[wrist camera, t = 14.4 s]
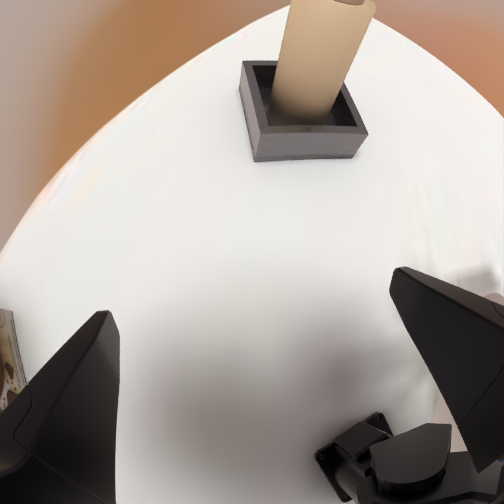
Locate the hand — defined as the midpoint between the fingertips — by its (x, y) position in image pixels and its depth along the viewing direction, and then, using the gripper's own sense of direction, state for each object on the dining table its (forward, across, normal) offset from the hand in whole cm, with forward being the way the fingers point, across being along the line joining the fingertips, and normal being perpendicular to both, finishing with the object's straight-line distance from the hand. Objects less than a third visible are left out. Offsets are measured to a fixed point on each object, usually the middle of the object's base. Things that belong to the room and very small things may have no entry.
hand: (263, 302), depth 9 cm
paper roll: (+22, -8, -4) cm, 24 cm away
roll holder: (+22, -8, -3) cm, 24 cm away
